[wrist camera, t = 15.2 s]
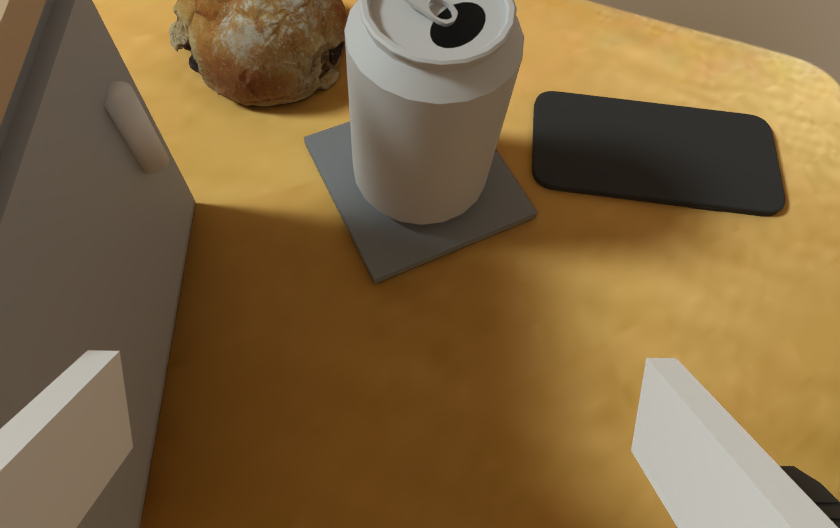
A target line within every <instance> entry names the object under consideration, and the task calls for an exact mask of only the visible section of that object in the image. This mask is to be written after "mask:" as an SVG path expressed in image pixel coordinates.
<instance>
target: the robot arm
mask: <svg viewBox="0 0 840 528" xmlns="http://www.w3.org/2000/svg"><path fill="white" fill-rule="evenodd" d="M132 448H133V443H132V436H131V429H130V422H129V415H128V407H127V400H126V393H125V386H124V379H123V372H122V364H121V357H120V351H93V350H87V351H86V352H85V353H84V354H83V355H82V356H81V357H80V358H79V359H77V360H76V361H75V362H74V363H73V364H72V365H71V366H70V367H69V368H68V369H66V370H65V371H64V372H63V373H62V374H61V375H60V376H59V377H58V378H56V379H55V380H54V381H53V382H52V383H51V384H50V385H49V386H48V387H46V388H45V389H44V390H43V391H42V392H41V393H40V394H39V395H38V396H36V397H35V398H34V399H33V400H32V401H31V402H30V403H29V404H28V405H26V406H25V407H24V408H23V409H22V410H21V411H20V412H19V413H18V414H16V415H15V416H14V417H13V418H12V419H11V420H10V421H9V422H8V423H6V424H5V425H4V426H3V427H2V428H1V429H0V528H76V527H77V526H78V525H79V523H80V522H81V520H82V519H83V518H84V516H85V515H86V513H87V512H88V510H89V509H90V508H91V506H92V505H93V503H94V502H95V501H96V499H97V498H98V496H99V495H100V493H101V492H102V491H103V489H104V488H105V486H106V485H107V484H108V482H109V481H110V479H111V478H112V476H113V475H114V474H115V472H116V471H117V469H118V468H119V467H120V465H121V464H122V462H123V461H124V459H125V458H126V457H127V455H128V454H129V452H130V451H131V450H132ZM631 451H632V453H633V455H634V456H635V458H636V460H637V461H638V463H639V465H640V466H641V468H642V470H643V471H644V473H645V475H646V476H647V478H648V480H649V481H650V483H651V484H652V486H653V488H654V489H655V491H656V493H657V494H658V496H659V498H660V499H661V501H662V503H663V504H664V506H665V508H666V509H667V511H668V513H669V514H670V516H671V517H672V519H673V521H674V522H675V524H676V526H677V527H678V528H840V502H839V501H838V500H837V499H836V498H835V497H834V496H833V495H832V494H831V493H830V492H829V491H828V490H827V489H826V488H825V487H824V486H823V485H822V484H821V483H820V482H818V481H816V480H815V479H813V478H812V477H810V476H808V475H807V474H805V473H804V472H802V471H800V470H799V469H797V468H796V467H794V466H779V465H778V464H777V463H776V462H775V461H774V460H773V459H772V458H771V457H770V456H769V455H768V454H767V453H766V452H765V451H764V450H763V449H762V448H761V447H760V445H759V444H758V443H757V442H756V441H755V440H754V439H753V438H752V437H751V436H750V435H749V434H748V433H747V432H746V431H745V430H744V429H743V428H742V427H741V426H740V425H739V423H738V422H737V421H736V420H735V419H734V418H733V417H732V416H731V415H730V414H729V413H728V412H727V411H726V410H725V409H724V408H723V407H722V406H721V405H720V404H719V403H718V401H717V400H716V399H715V398H714V397H713V396H712V395H711V394H710V393H709V392H708V391H707V390H706V389H705V388H704V387H703V386H702V385H701V384H700V383H699V382H698V381H697V380H696V378H695V377H694V376H693V375H692V374H691V373H690V372H689V371H688V370H687V369H686V368H685V367H684V366H683V365H682V364H681V363H680V362H679V361H678V360H677V359H676V358H646V364H645V370H644V376H643V382H642V388H641V394H640V400H639V406H638V412H637V418H636V424H635V430H634V436H633V442H632V448H631Z"/></svg>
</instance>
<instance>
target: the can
mask: <svg viewBox="0 0 840 528" xmlns="http://www.w3.org/2000/svg"><path fill="white" fill-rule="evenodd" d="M516 10H517V8H516V5H515V2H514V0H358V1H357V2H356V3H355V5H354V6H353V7H352V8H351V10H350V12H349V16H348V19H347V23H346V27H345V30H344V31H345V47H346V63H347V79H348V95H349V111H350V127H351V143H352V159H353V169H354V176H355V182H356V184H357V186H358V188H359V189H360V191H361V193H362V195H363V196H364V198H365V199H366V200H367V201H368V202H369V203H370V204H371V205H372V206H374V207H375V208H376V209H377V210H378V211H379V212H380V213H383V214H385V215H387V216H389V217H391V218H393V219H396V220H398V221H400V222H407V223H413V224H420V225H424V224H432V223H441V222H445V221H447V220H449V219H452V218H454V217H456V216H459V215H461V214H463V213H464V212H465V211H466V210H467V209H468V208H470V207H471V206H472V205H473V204H474V203H475V202H476V201H477V200H478V198H479V196H480V194H481V192H482V190H483V188H484V186H485V184H486V180H487V177H488V174H489V170H490V167H491V163H492V160H493V156H494V153H495V150H496V146H497V143H498V139H499V136H500V133H501V129H502V126H503V122H504V119H505V115H506V112H507V109H508V105H509V102H510V98H511V95H512V91H513V88H514V85H515V81H516V78H517V74H518V71H519V67H520V64H521V61H522V56H523V44H524V35H523V33H522V30H521V27H520V24H519V21H518V18H517V16H516Z"/></svg>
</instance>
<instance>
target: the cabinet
mask: <svg viewBox="0 0 840 528" xmlns="http://www.w3.org/2000/svg"><path fill="white" fill-rule="evenodd" d="M194 208H195V200H194V198H193V196H192V194H191V192H190V190H189V188H188V186H187V184H186V182H185V180H184V178H183V176H182V174H181V172H180V170H179V168H178V167H177V165H176V163H175V161H174V159H173V157H172V155H171V153H170V151H169V149H168V147H167V145H166V143H165V141H164V139H163V137H162V135H161V133H160V132H159V130H158V128H157V126H156V124H155V122H154V120H153V118H152V116H151V114H150V112H149V110H148V108H147V106H146V104H145V102H144V100H143V98H142V97H141V95H140V93H139V91H138V89H137V87H136V85H135V83H134V81H133V79H132V77H131V75H130V73H129V71H128V69H127V67H126V65H125V64H124V62H123V60H122V58H121V56H120V54H119V52H118V50H117V48H116V46H115V44H114V42H113V40H112V38H111V36H110V34H109V32H108V30H107V29H106V27H105V25H104V23H103V21H102V19H101V17H100V15H99V13H98V11H97V9H96V7H95V5H94V3H93V1H92V0H0V429H1V428H2V427H3V426H4V425H5V424H6V423H8V422H9V421H10V420H11V419H12V418H13V417H14V416H15V415H16V414H18V413H19V412H20V411H21V410H22V409H23V408H24V407H25V406H26V405H28V404H29V403H30V402H31V401H32V400H33V399H34V398H35V397H36V396H38V395H39V394H40V393H41V392H42V391H43V390H44V389H45V388H46V387H48V386H49V385H50V384H51V383H52V382H53V381H54V380H55V379H56V378H58V377H59V376H60V375H61V374H62V373H63V372H64V371H65V370H66V369H68V368H69V367H70V366H71V365H72V364H73V363H74V362H75V361H76V360H77V359H79V358H80V357H81V356H82V355H83V354H84V353H85V352H86V351H87V350H93V351H120V357H121V364H122V372H123V379H124V386H125V393H126V400H127V407H128V415H129V422H130V429H131V436H132V443H133V448H132V450H131V451H130V452H129V454H128V455H127V457H126V458H125V459H124V461H123V462H122V464H121V465H120V467H119V468H118V469H117V471H116V472H115V474H114V475H113V476H112V478H111V479H110V481H109V482H108V484H107V485H106V486H105V488H104V489H103V491H102V492H101V493H100V495H99V496H98V498H97V499H96V501H95V502H94V503H93V505H92V506H91V508H90V509H89V510H88V512H87V513H86V515H85V516H84V518H83V519H82V520H81V522H80V523H79V525H78V526H77V527H76V528H140V524H141V518H142V512H143V506H144V500H145V494H146V489H147V483H148V477H149V471H150V465H151V459H152V453H153V448H154V442H155V436H156V430H157V424H158V418H159V413H160V407H161V401H162V395H163V389H164V383H165V378H166V372H167V366H168V360H169V354H170V348H171V342H172V337H173V331H174V325H175V319H176V313H177V307H178V302H179V296H180V290H181V284H182V278H183V272H184V266H185V261H186V255H187V249H188V243H189V237H190V231H191V226H192V220H193V214H194Z"/></svg>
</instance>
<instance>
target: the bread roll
mask: <svg viewBox="0 0 840 528" xmlns="http://www.w3.org/2000/svg"><path fill="white" fill-rule="evenodd" d="M173 9H174V13H175V14H176V15H177V21H175V22H174V23H173V24H171V27H170V32H169V33H170V37H171V41H170V42H171V45H172V46H173V47H174V49H175V50H176V51H177V52H178V49H182V48H183V47H184V48H185V49H186V50H189V51H191V54H192V55H191V57H190V58H189V65H190V68H191V69H193V70H194V71H196V72H199V73H200V74H201V75H202V77H203V80H204V82H205V84H206V85H207V86H208V87H210V88H211V89H213V90H215V91H216V92H217V93H218V95H223V96H224V97H227V98H229V99H231V100H233V101H236V102H238V103H241V104H243V105H247V106H249V105H256V106H265V107H269V106H272V105H277V104H286V103H291V102H295V101H299V100H302V99H305V98H307V97H309V96H311V95H312V94H313V93H314V92H315V91H316V90H317V89H325V90H328V89H329V88H330V87H331V86H332V85H333V84H334V83H335V82H336V81H337V79H338V77H339V74H340V72H338V71H336V68H337V67H338V65H339V62H340V59H341V57H342V54H343V51H344V47H345V31H344V30H345V27H346V23H347V15H346V11H345V7H344V4H343V2H342V0H178V1H177V3H176V4H175V5H174V7H173Z"/></svg>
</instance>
